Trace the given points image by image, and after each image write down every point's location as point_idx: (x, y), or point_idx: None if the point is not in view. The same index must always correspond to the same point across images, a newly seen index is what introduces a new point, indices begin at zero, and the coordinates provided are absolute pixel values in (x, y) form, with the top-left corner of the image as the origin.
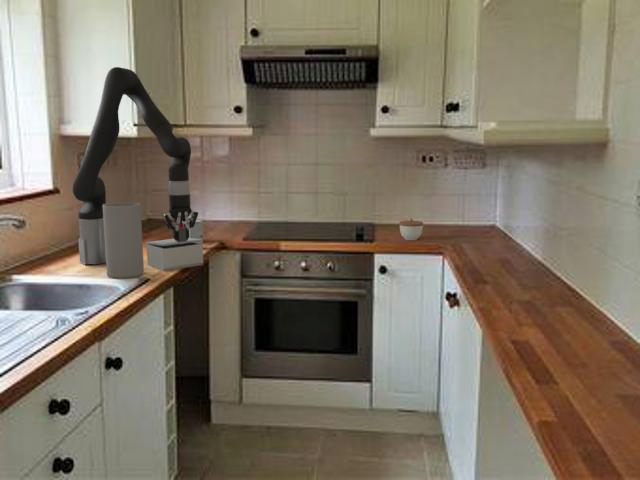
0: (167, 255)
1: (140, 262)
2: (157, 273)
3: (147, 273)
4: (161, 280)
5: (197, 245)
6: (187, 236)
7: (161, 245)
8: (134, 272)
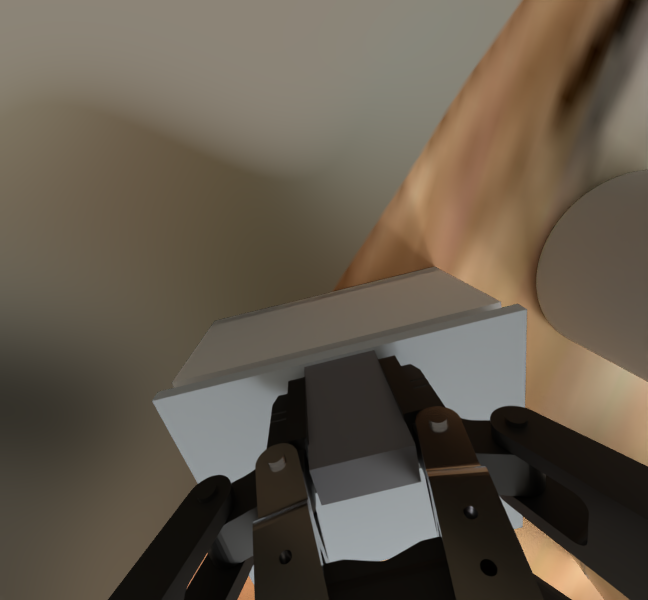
0: (443, 295)
1: (637, 203)
2: (478, 227)
3: (519, 250)
4: (522, 29)
5: (216, 369)
6: (294, 392)
7: (518, 330)
8: (635, 174)
